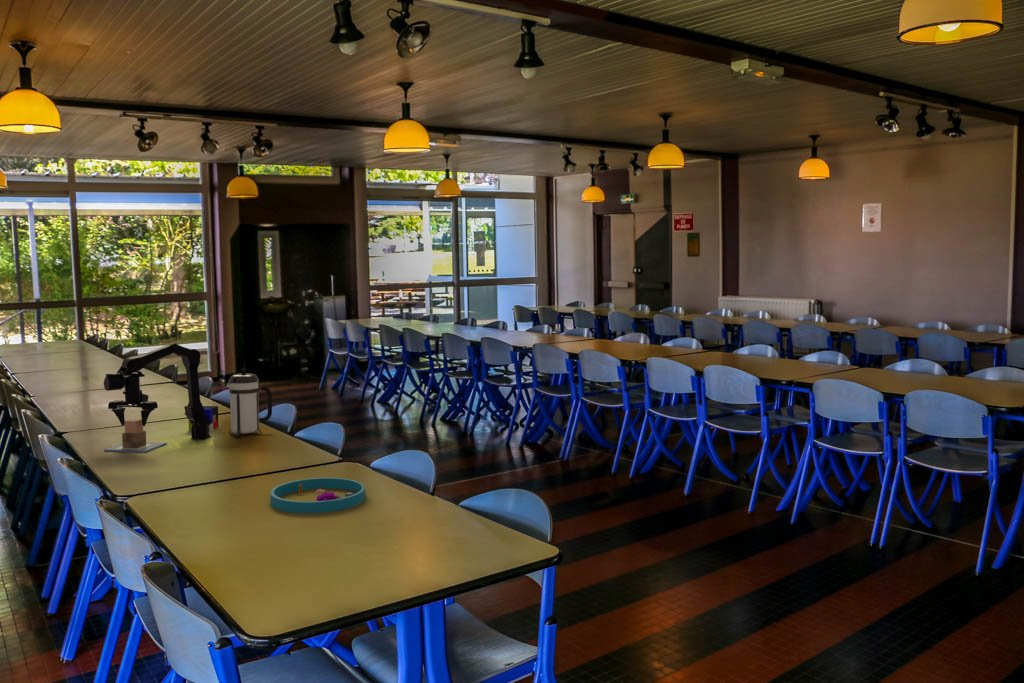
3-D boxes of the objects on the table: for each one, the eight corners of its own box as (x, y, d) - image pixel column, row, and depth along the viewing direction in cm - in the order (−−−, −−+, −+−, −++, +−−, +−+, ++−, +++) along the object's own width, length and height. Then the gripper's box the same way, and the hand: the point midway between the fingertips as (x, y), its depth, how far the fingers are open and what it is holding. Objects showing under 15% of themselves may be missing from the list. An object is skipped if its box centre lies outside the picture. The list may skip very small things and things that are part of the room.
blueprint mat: (166, 444, 351) (166, 442, 351) (145, 452, 335) (145, 450, 335) (127, 443, 353) (126, 441, 353) (104, 451, 337) (104, 449, 337)
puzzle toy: (210, 431, 380) (209, 409, 379) (188, 431, 380) (188, 409, 379) (218, 427, 390) (218, 406, 389) (197, 427, 390) (196, 405, 389)
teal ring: (291, 520, 248) (290, 501, 248) (257, 497, 273) (256, 480, 272) (381, 504, 266) (381, 486, 265) (341, 484, 290) (341, 467, 290)
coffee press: (254, 438, 364) (252, 370, 361) (221, 436, 367) (219, 369, 364) (273, 430, 381) (271, 366, 378) (241, 429, 384) (239, 365, 381)
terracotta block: (143, 431, 345) (142, 419, 344) (136, 433, 340) (136, 421, 339) (131, 430, 345) (131, 418, 345) (124, 433, 340) (124, 421, 340)
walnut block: (146, 444, 346) (145, 430, 346) (137, 448, 340) (136, 433, 339) (131, 444, 347) (131, 430, 346) (122, 447, 340) (122, 433, 340)
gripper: (164, 386, 348) (165, 422, 349) (122, 385, 350) (123, 421, 351) (149, 390, 337) (150, 427, 338) (106, 388, 339) (108, 426, 340)
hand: (133, 425), depth 342 cm, fingers open, 9 cm apart
